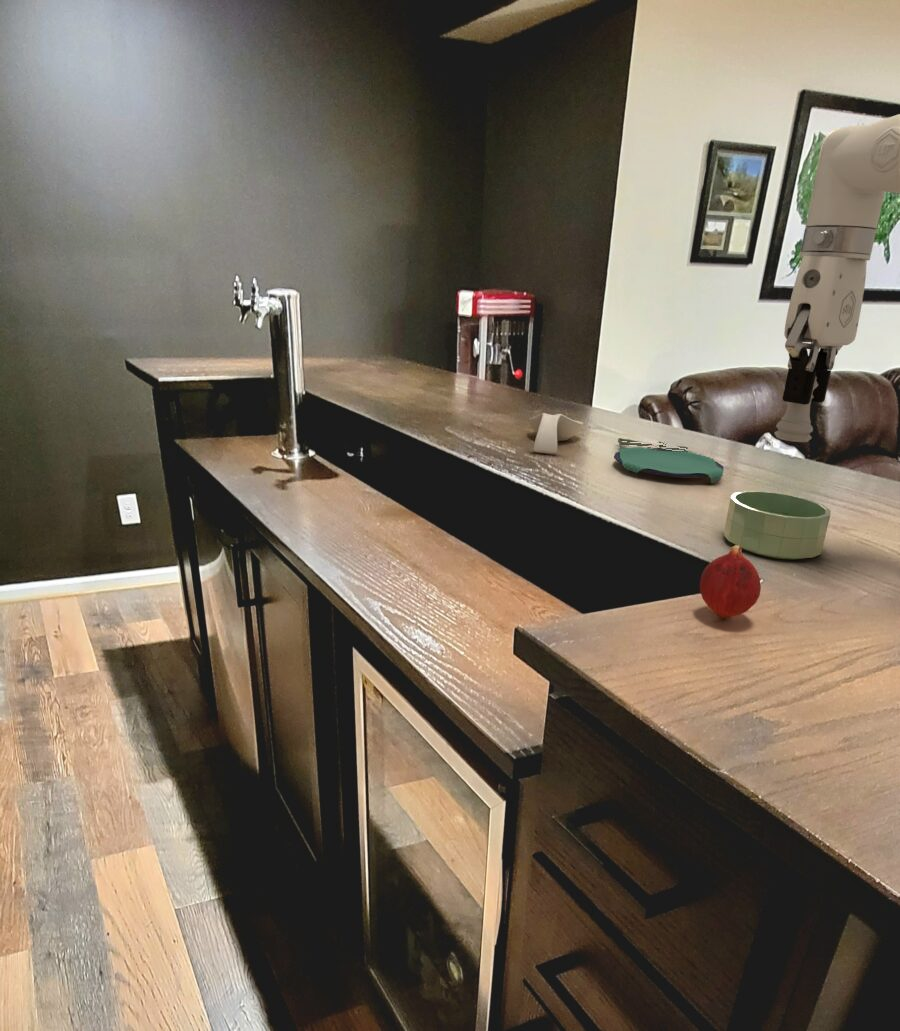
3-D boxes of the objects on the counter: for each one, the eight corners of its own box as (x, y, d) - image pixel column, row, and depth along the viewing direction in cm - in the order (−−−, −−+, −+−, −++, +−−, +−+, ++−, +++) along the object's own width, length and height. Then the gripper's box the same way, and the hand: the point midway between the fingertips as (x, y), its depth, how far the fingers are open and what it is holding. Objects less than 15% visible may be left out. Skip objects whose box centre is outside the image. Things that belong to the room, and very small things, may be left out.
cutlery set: (615, 479, 127) (617, 466, 126) (607, 443, 155) (609, 433, 155) (732, 490, 124) (734, 477, 124) (703, 452, 153) (705, 441, 152)
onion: (762, 633, 72) (778, 558, 70) (705, 630, 72) (719, 555, 70) (739, 607, 78) (754, 538, 75) (687, 605, 78) (699, 535, 75)
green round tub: (800, 534, 103) (809, 494, 101) (836, 566, 92) (846, 521, 90) (713, 527, 104) (720, 487, 102) (738, 558, 92) (746, 513, 91)
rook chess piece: (767, 437, 92) (780, 374, 90) (782, 433, 95) (795, 372, 93) (802, 444, 89) (816, 379, 87) (817, 440, 92) (831, 377, 90)
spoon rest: (530, 430, 165) (533, 398, 163) (582, 435, 162) (586, 403, 160) (516, 452, 143) (519, 416, 141) (576, 458, 140) (580, 422, 138)
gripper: (839, 240, 77) (802, 411, 83) (897, 251, 87) (861, 402, 93) (771, 240, 82) (741, 400, 88) (833, 250, 93) (803, 393, 98)
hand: (803, 400), depth 90 cm, fingers closed on rook chess piece, 3 cm apart
